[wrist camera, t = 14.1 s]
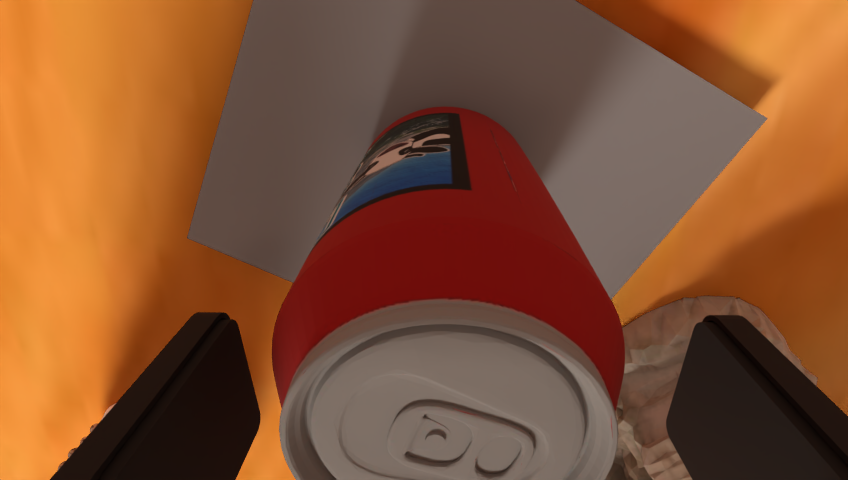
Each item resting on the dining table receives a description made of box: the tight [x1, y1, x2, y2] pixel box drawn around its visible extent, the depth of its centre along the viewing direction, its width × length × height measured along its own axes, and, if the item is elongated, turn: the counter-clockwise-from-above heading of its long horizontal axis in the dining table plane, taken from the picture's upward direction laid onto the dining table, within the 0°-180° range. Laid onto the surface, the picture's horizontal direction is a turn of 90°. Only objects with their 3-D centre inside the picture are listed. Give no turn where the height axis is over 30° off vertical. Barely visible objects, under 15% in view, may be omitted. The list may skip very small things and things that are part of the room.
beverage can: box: [272, 106, 625, 480], centre depth 12 cm, size 7×7×12 cm
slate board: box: [187, 0, 768, 299], centre depth 18 cm, size 18×15×1 cm
